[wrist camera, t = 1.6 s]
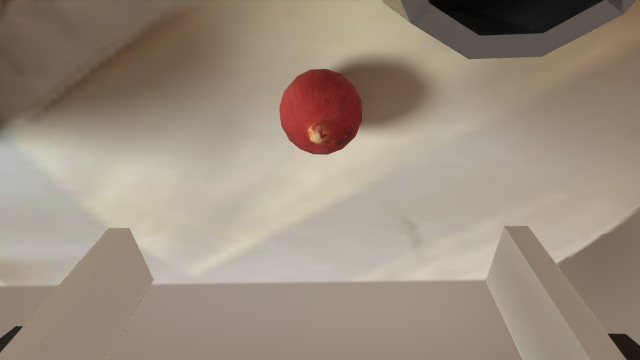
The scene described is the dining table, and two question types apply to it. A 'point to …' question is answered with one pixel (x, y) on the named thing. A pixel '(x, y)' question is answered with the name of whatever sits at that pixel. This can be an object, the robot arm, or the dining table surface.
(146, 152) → the dining table surface
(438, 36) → the pot
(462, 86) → the dining table surface
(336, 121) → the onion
